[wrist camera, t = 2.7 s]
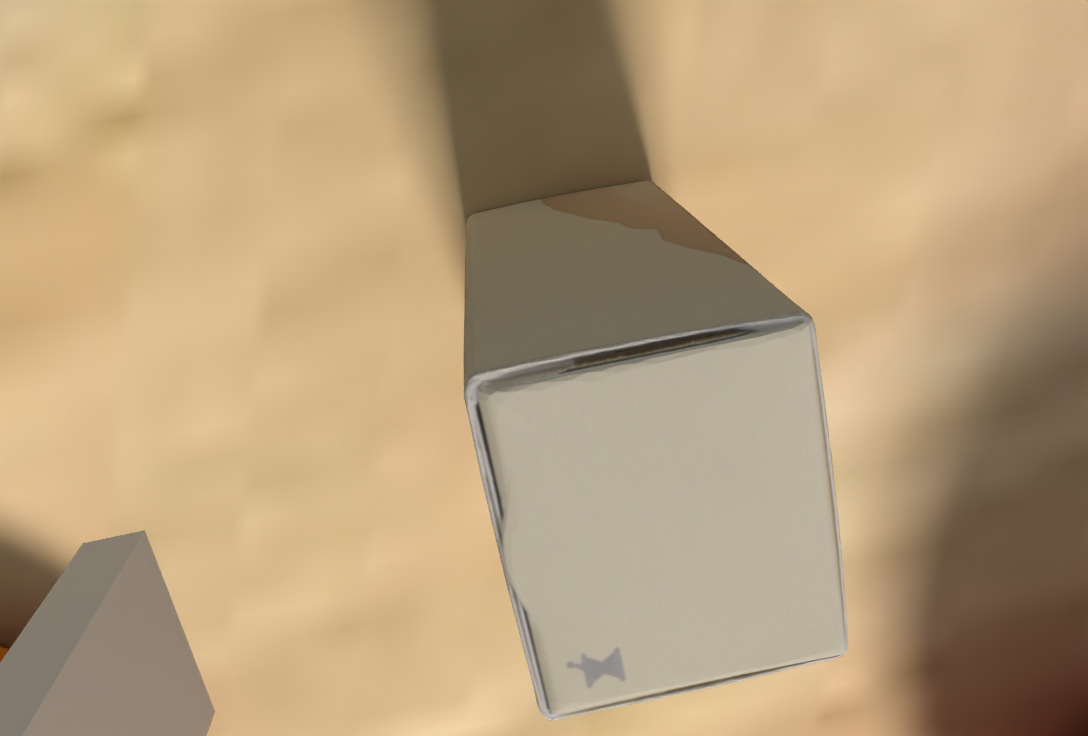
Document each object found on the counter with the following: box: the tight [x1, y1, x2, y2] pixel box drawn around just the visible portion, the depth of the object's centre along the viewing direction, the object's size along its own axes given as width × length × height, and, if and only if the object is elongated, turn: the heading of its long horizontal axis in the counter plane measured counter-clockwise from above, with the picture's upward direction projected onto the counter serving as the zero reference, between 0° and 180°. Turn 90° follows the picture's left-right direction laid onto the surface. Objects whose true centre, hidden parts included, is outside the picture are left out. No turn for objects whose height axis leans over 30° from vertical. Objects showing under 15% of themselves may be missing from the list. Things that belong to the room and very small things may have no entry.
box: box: [464, 181, 848, 721], centre depth 18 cm, size 5×4×11 cm
